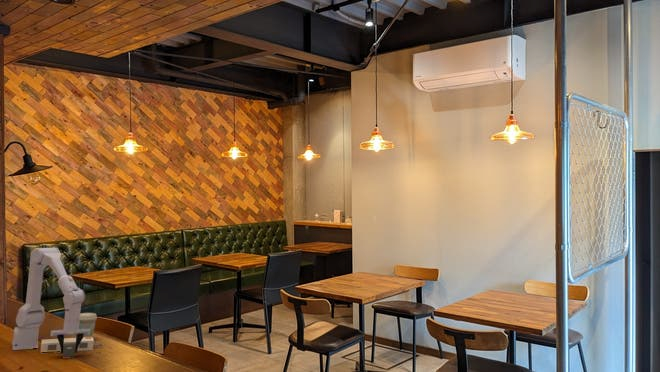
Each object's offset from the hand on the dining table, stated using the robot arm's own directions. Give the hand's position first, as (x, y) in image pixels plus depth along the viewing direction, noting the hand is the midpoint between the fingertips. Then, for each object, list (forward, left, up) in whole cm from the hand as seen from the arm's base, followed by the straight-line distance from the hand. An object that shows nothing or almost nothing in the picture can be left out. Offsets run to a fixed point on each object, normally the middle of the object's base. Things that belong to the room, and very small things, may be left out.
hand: (68, 352), depth 205 cm
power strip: (+2, +12, -2) cm, 12 cm away
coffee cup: (+8, +27, -2) cm, 28 cm away
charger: (0, 0, -2) cm, 2 cm away
